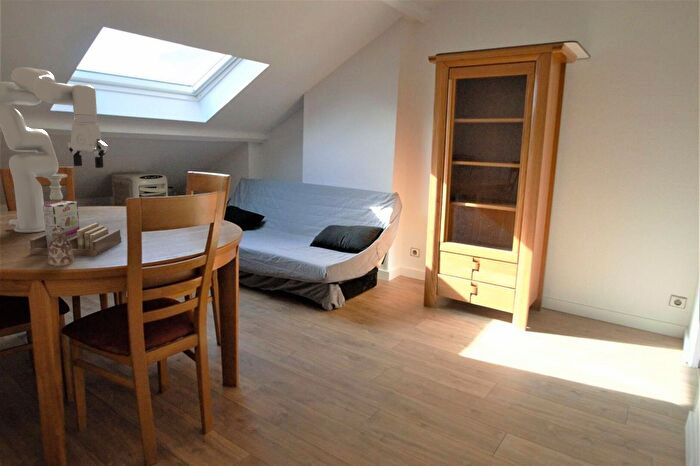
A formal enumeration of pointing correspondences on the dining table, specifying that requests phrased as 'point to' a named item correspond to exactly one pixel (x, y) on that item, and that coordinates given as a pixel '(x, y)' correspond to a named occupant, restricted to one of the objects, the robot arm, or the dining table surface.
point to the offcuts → (90, 235)
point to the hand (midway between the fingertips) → (88, 166)
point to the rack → (98, 245)
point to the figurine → (60, 248)
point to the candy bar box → (61, 219)
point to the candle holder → (55, 187)
